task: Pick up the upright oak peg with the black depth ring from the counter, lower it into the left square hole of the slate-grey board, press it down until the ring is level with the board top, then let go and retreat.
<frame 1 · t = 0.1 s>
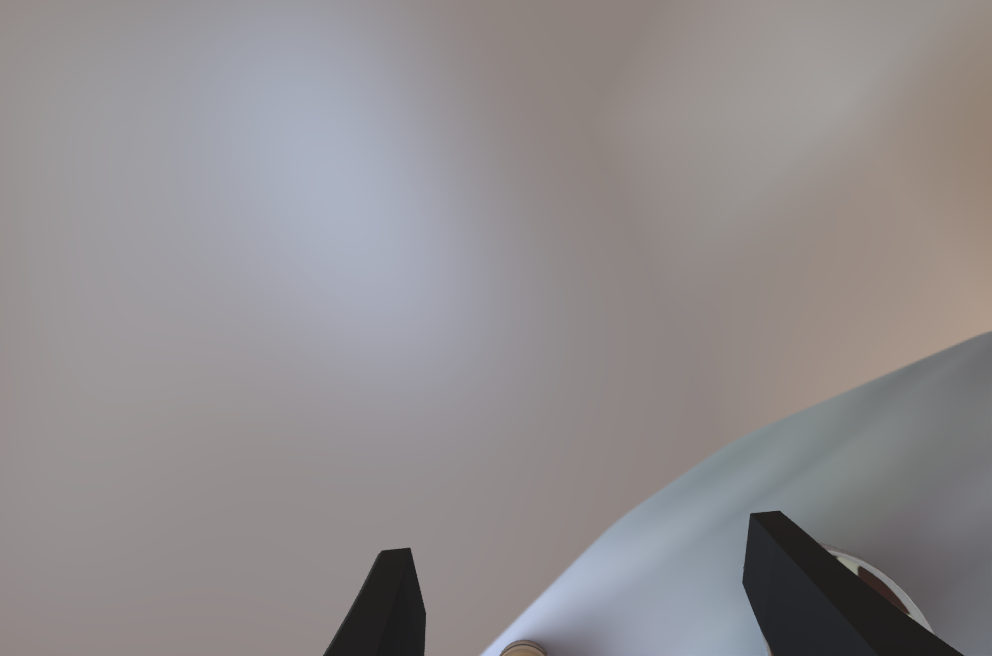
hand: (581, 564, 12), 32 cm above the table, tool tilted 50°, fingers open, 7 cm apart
food container: (805, 632, 39), on the table
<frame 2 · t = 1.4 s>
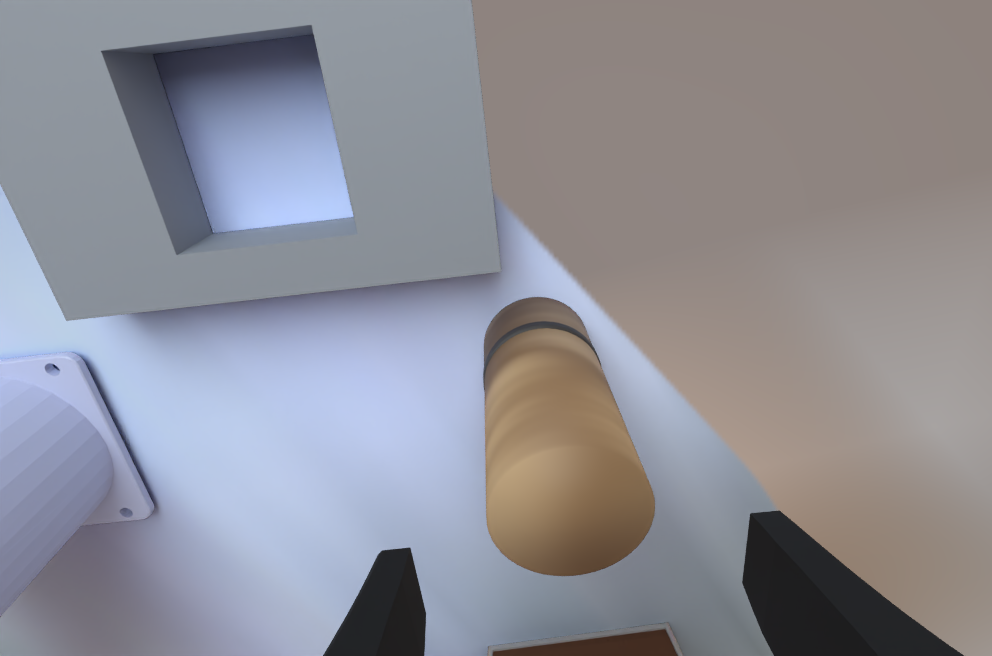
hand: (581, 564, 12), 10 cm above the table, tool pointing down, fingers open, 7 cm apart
peg: (535, 345, 21), on the table
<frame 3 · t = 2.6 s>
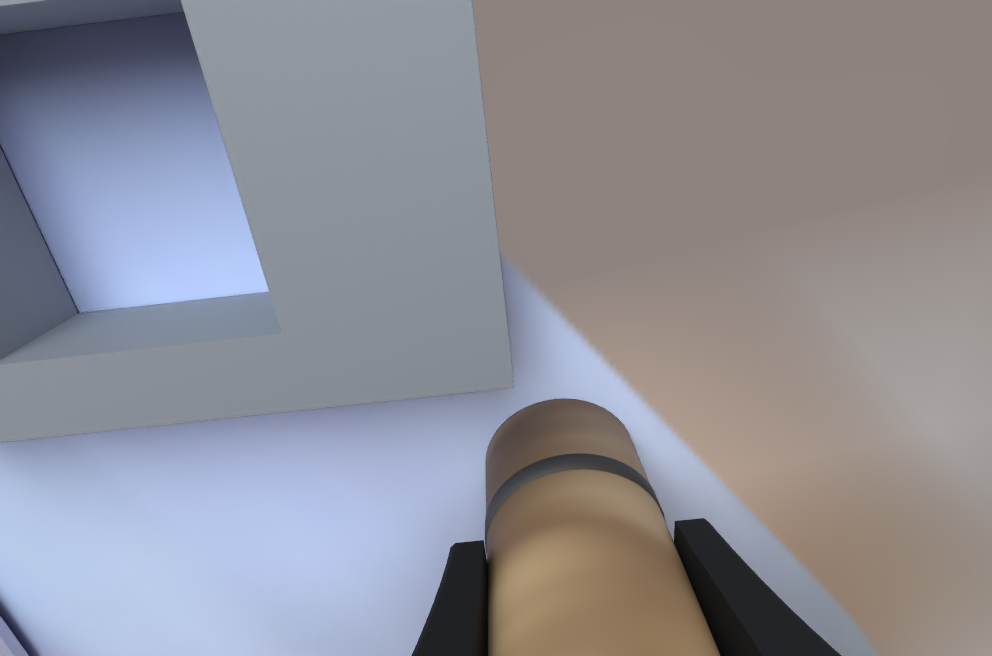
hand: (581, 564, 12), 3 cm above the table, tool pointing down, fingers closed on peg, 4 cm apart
peg: (559, 461, 15), on the table, touching gripper
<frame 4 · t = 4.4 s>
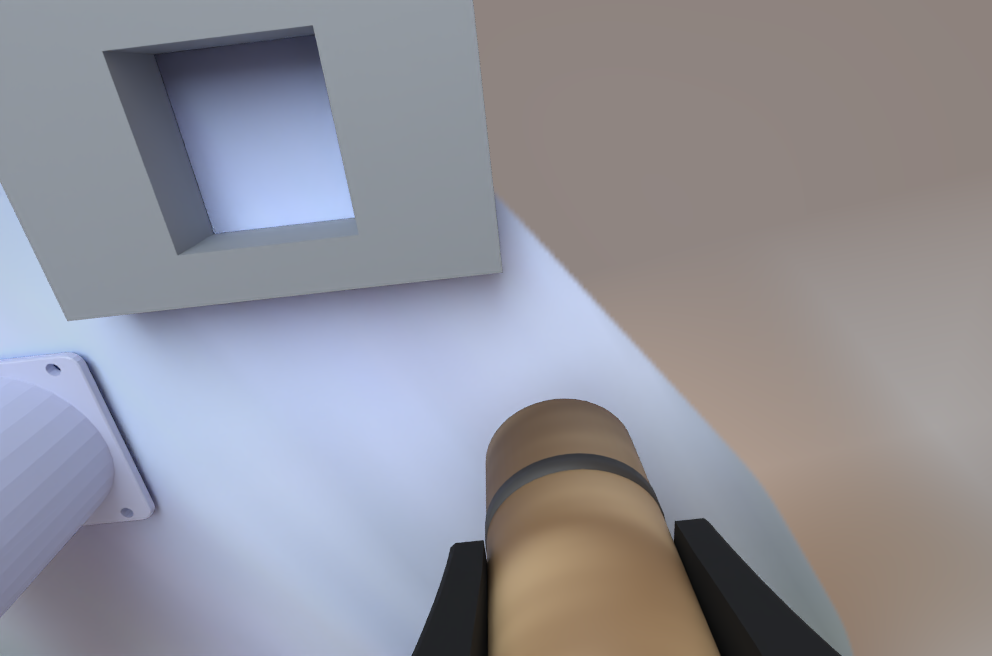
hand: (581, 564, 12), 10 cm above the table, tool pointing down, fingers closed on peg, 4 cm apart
peg: (559, 461, 15), point 7 cm above the table, touching gripper
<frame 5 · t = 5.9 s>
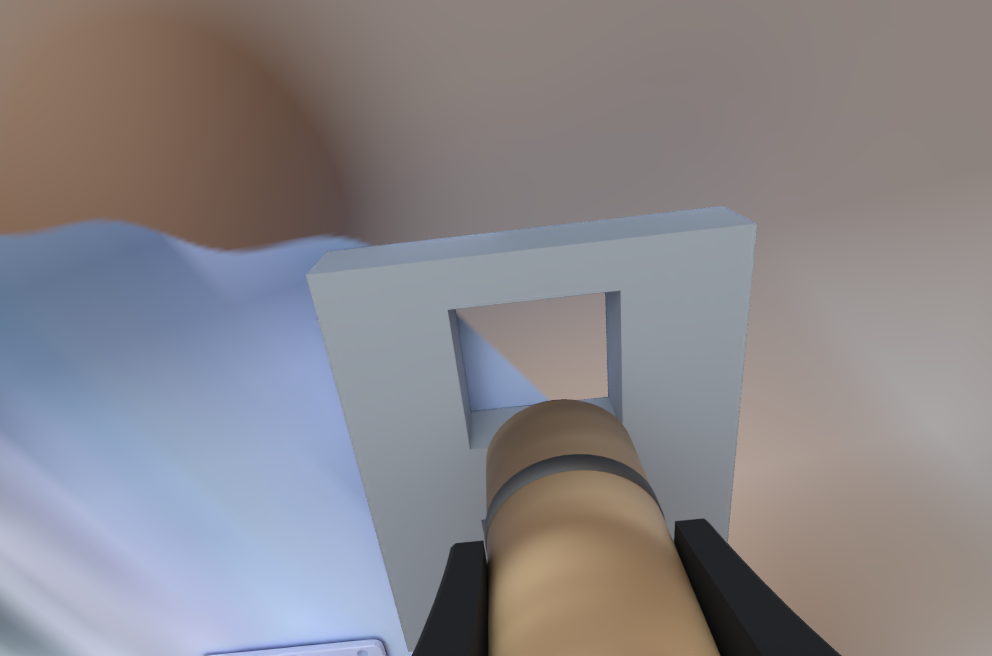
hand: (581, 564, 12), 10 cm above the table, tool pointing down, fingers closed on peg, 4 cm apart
peg: (559, 462, 15), point 7 cm above the table, touching gripper
board: (542, 438, 23), on the table
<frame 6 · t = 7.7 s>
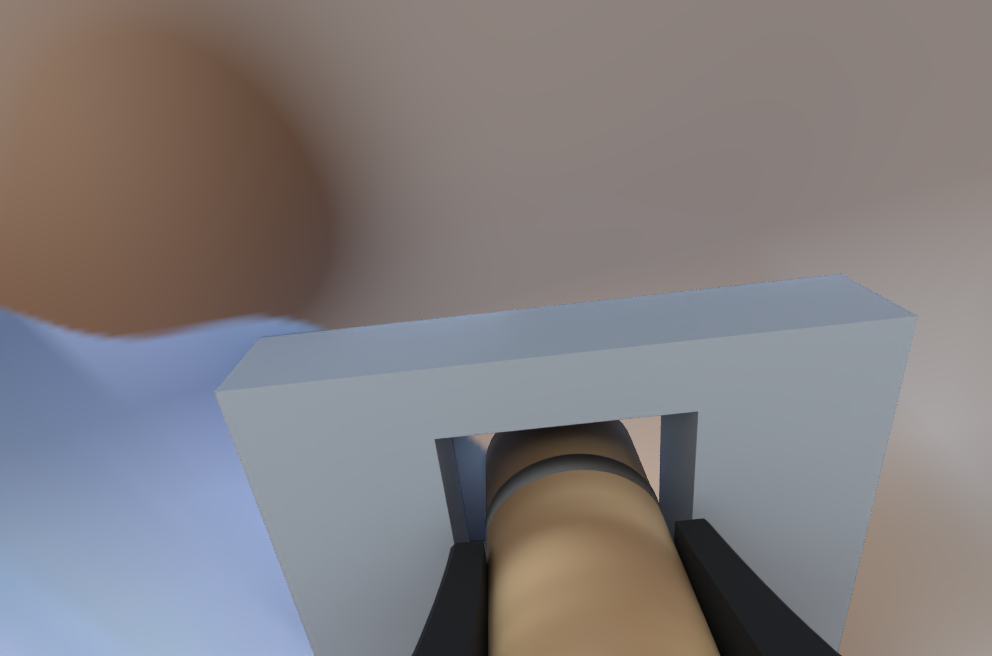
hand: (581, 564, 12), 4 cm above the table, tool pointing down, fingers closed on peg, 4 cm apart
peg: (559, 462, 15), resting in board, touching gripper
board: (567, 573, 17), on the table
when the fingers open (3 cm above the table, at t = 9.1 s): peg stays where it is, resting in board.
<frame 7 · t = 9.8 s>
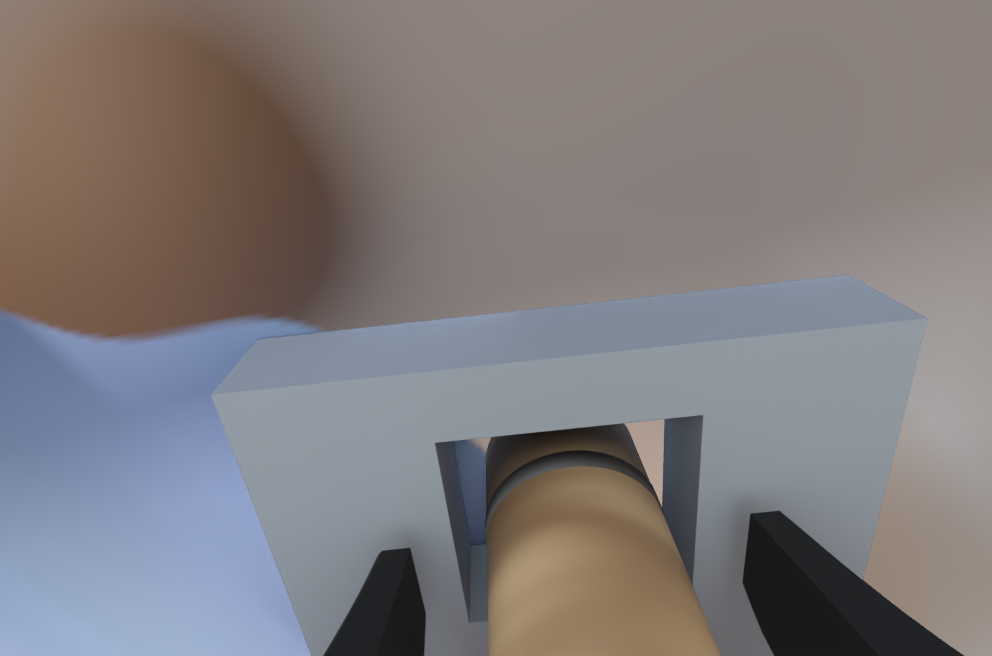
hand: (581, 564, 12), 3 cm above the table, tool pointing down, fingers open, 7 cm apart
peg: (559, 459, 15), resting in board
board: (568, 577, 17), on the table
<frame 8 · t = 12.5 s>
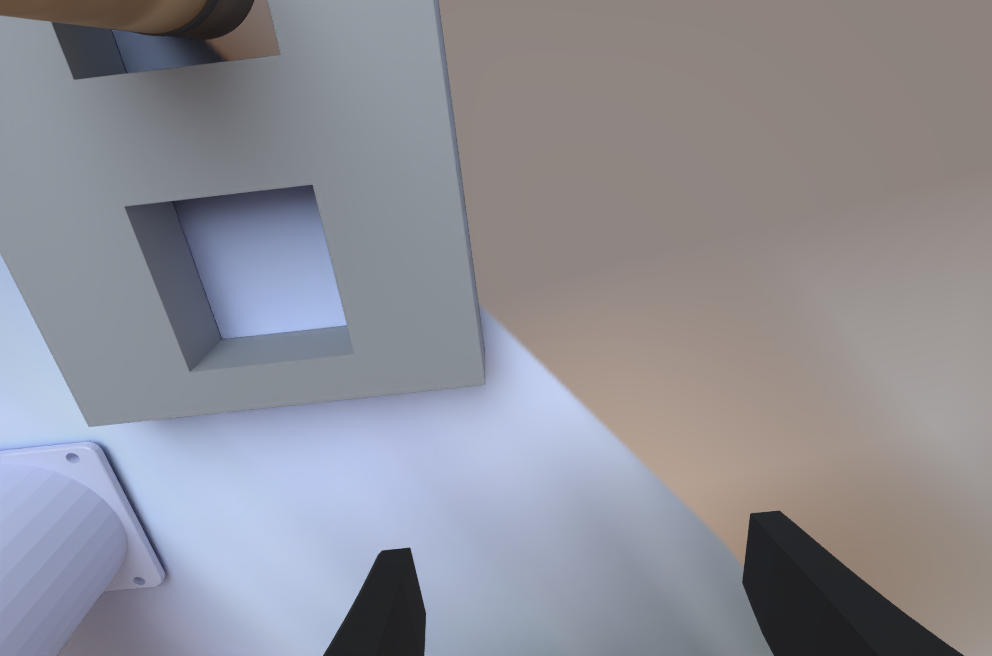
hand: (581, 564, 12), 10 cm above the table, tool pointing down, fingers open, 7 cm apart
board: (234, 126, 18), on the table
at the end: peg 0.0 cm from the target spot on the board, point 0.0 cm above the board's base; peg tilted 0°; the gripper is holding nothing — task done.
